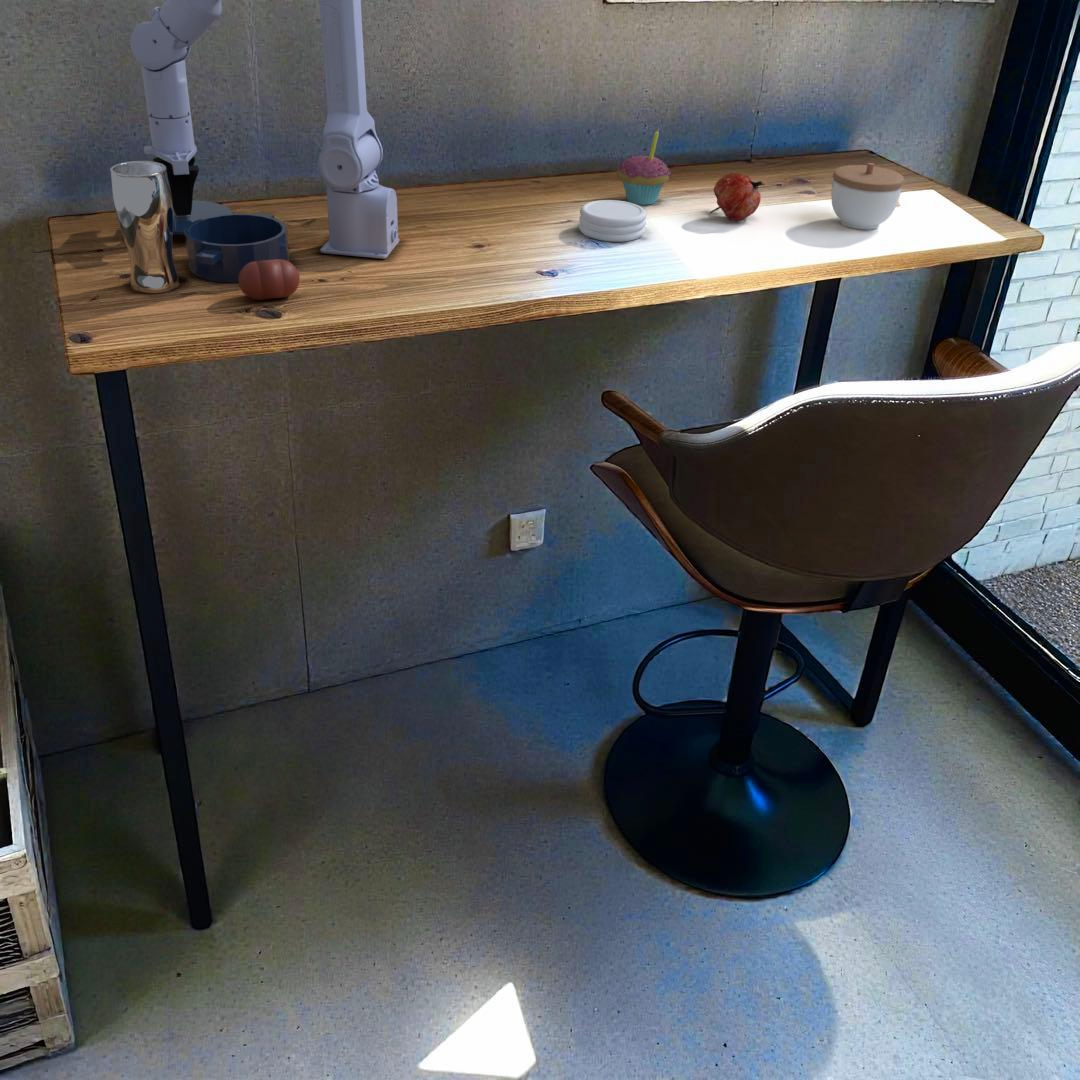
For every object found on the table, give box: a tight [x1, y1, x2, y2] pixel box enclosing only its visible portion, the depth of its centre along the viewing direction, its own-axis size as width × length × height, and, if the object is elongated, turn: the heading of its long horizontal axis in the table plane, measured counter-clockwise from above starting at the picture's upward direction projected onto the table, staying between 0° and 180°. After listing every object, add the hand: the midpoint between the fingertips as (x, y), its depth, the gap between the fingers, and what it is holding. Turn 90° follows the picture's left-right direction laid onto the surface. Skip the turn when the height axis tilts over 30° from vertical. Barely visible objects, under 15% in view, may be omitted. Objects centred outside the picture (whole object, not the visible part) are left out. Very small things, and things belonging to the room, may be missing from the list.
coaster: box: [578, 199, 647, 243], centre depth 175 cm, size 10×10×4 cm
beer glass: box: [109, 160, 180, 294], centre depth 147 cm, size 7×7×15 cm
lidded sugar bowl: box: [830, 162, 905, 231], centre depth 182 cm, size 11×11×9 cm
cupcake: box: [616, 127, 672, 206], centre depth 187 cm, size 9×8×12 cm
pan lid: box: [173, 200, 234, 236], centre depth 168 cm, size 14×14×4 cm
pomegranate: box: [709, 172, 766, 222], centre depth 183 cm, size 7×7×10 cm
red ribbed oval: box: [238, 259, 300, 301], centre depth 148 cm, size 8×5×5 cm, turn 111°
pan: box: [184, 212, 290, 284], centre depth 157 cm, size 13×19×5 cm
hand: (182, 211), depth 168 cm, fingers closed on pan lid, 2 cm apart
